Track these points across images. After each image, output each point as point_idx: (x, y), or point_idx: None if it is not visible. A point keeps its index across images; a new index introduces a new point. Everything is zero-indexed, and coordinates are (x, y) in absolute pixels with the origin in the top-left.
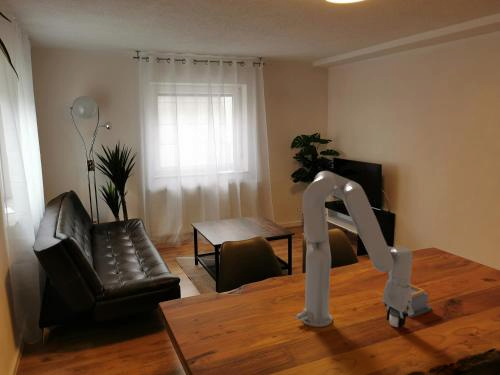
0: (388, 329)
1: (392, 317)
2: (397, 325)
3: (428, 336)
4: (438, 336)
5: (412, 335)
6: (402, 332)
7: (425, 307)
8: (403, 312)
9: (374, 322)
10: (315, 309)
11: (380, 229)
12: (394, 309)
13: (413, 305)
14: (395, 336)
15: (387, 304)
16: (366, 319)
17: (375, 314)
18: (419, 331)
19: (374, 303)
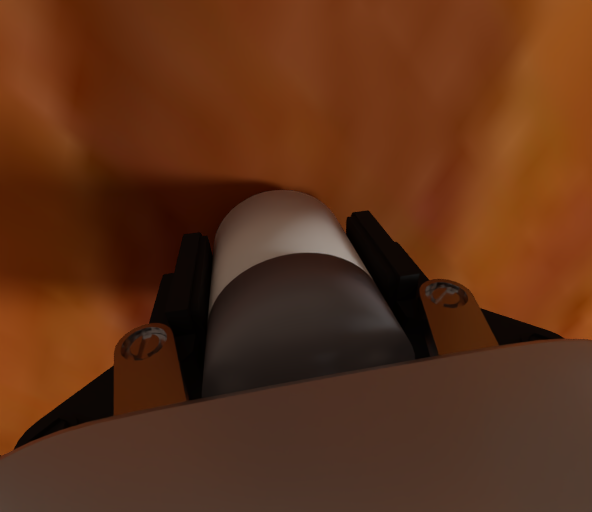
0: (245, 118)
1: (278, 244)
2: (217, 236)
3: (15, 370)
4: (6, 423)
5: (56, 269)
6: (137, 218)
7: None
8: None
9: (438, 76)
10: None
11: None
12: (339, 370)
13: None
14: (69, 72)
15: (498, 356)
16: (538, 32)
17: (510, 207)
18: (113, 355)
19: (587, 307)
